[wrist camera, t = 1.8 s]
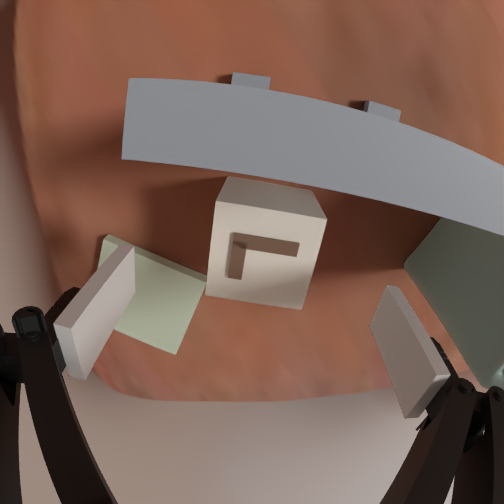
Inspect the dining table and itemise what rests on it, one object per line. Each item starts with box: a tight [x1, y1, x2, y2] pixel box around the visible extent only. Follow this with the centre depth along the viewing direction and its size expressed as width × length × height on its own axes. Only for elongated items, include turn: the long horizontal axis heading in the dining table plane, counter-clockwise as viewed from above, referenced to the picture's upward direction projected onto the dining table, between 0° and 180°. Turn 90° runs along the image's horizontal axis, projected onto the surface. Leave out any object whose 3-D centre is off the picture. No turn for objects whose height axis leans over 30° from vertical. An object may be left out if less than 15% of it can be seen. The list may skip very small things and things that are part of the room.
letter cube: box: [205, 176, 327, 310], centre depth 20 cm, size 6×6×6 cm
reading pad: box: [98, 234, 207, 355], centre depth 26 cm, size 9×9×1 cm
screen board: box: [122, 72, 504, 236], centre depth 13 cm, size 12×5×16 cm, turn 81°
